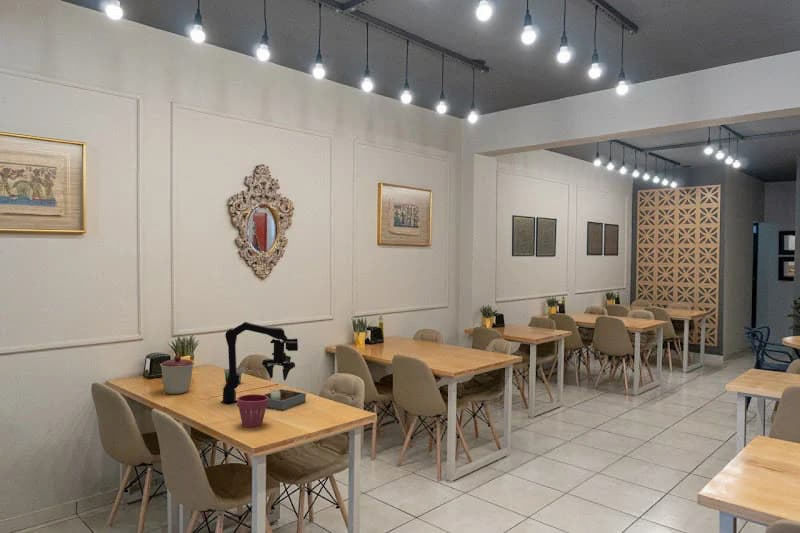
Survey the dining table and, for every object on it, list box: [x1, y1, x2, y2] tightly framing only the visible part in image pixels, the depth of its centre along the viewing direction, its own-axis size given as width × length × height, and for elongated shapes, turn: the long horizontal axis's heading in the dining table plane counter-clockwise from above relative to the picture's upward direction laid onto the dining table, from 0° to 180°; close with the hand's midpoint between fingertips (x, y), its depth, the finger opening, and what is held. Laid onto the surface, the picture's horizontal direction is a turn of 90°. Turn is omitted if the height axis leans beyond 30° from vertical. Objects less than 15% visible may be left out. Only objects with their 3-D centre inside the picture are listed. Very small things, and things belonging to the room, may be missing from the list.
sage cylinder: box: [270, 389, 280, 400], centre depth 288 cm, size 5×5×7 cm
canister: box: [159, 355, 195, 395], centre depth 312 cm, size 18×18×21 cm
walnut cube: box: [281, 389, 295, 401], centre depth 297 cm, size 5×5×5 cm
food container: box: [223, 365, 244, 385], centre depth 334 cm, size 12×6×10 cm, turn 143°
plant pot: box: [236, 393, 269, 428], centre depth 256 cm, size 14×14×13 cm
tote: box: [263, 388, 307, 412], centre depth 293 cm, size 20×17×5 cm
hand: (278, 379), depth 299 cm, fingers open, 9 cm apart
